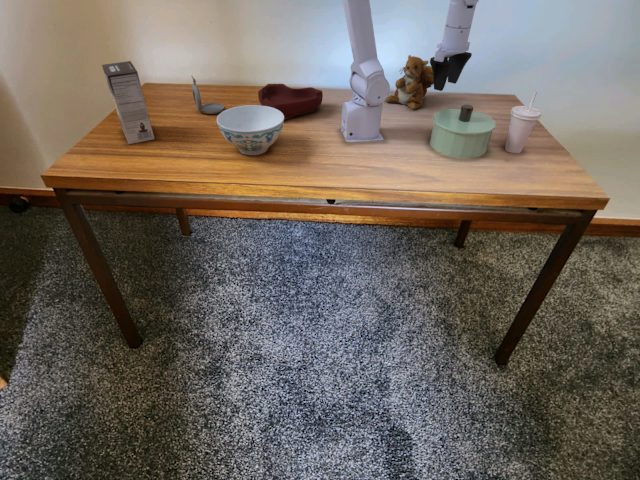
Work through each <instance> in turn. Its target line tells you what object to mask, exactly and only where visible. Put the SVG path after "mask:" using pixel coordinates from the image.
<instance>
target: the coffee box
mask: <svg viewBox="0 0 640 480" xmlns="http://www.w3.org/2000/svg"><path fill="white" fill-rule="evenodd" d="M101 67H102V70H103V74H104V77H105V79H106V83H107V87H108V90H109V93H110V96H111V100H112V102H113V106H114V108H115V111H116V115H117V118H118V120H119V124H120V127H121V129H122V132H123V134H124V137H125V139H126V142H127V144H128V145H134V144H138V143H144V142H147V141H152V140H155V139H156V138H155V134H154V131H153V126H152V123H151V119H150V116H149V112H148V108H147V104H146V99H145V96H144V92H143V88H142V83H141V81H140V80H141V79H140V76H139V72H138V70H137V69H136V67H135V66H134V64H133V63H132V61H131V60H128V61H122V62H121V61H120V62H113V63H106V64H101Z"/></svg>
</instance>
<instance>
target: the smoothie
mask: <svg viewBox="0 0 640 480" xmlns="http://www.w3.org/2000/svg"><path fill="white" fill-rule="evenodd" d="M537 93H538V92H537V91H534V92H533V94H532V97H531V100H530V103H529V105H516V106H513V107H512V108H511V110H510V120H509V124H508V131H507V136H506V139H505V140H506V141H505V145H504V150H505V152H508V153H511V154H520V153H521V152H522V151H523V148H524V147H525V145H526V143H527V141H528V139H529V137H530V135H531V133H532V132H533V130H534V128H535V126H536V124H537V122H538V120H540V119H541V116H542V111H541V110H540V109H538V108H535V107H533V106H534V105H533V104H534V102H535V100H536V96H537Z"/></svg>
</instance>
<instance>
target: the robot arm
mask: <svg viewBox="0 0 640 480" xmlns="http://www.w3.org/2000/svg"><path fill="white" fill-rule="evenodd" d="M479 1H480V0H449V4H448V9H447V15H446V20H445V25H444V30H443V35H442V41H441V42H440V43H437V44H436V48H437V49H438V50H436V51H435V53H434V56H433V57H430V59H429V64H430V66H431V67H432V71H433V80H434V84H433V90H435V91H439V92H443V90H444V88H445V86H446V83H450V84H457V82H458V80H459V78H460V76H461V74H462V73H463V70H464V68H465V66H466V65H467V63H468V61H469V60H470V59H471V58H472V56H473V53H472V52H470V51H469V49H470V45H471V42H470V41H469V37H470V34H471V33H470V32H471V29H472V28H471V27H472V24H473V20H474V16H475V10H476V7H477V4H478V3H479ZM342 4H343V5H342V6H343V10H344V17H345V21H346V27H347V31H348V37H349V43H350V49H351V55H352V60H353V61H352V63H351V64H350V77H349V87H350V89H351V90H352V91H353V93H352V94H353V95H352V99H350V100H347V101H343V103H342V107H341V123H340V125H341V126H340V131H341V133H342V135H343V137H344V139H345V141H346V142H348V143H349V142H350V143H351V142H353V143H354V142H369V141H370V142H371V141H384V140H385V138H384V137H383V135H382V134H381V132H380V129H381V120H382V112H383V106H384V102H385V101H386V99H387V97H388V96H390V91H391V85H390V83H389V80H388V79H387V78H386V75H385V71H384V68H383V65H382V64H381V62H380V61H379V58H378V53H377V44H376V37H375V31H374V24H373V15H372V8H371V2H370V0H342ZM468 51H469V52H468Z"/></svg>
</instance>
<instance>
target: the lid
mask: <svg viewBox="0 0 640 480" xmlns="http://www.w3.org/2000/svg"><path fill="white" fill-rule="evenodd" d="M432 120H433V123H434V122H435V123H436V124H437V125H438V126H439V127H441V128H443V129H446V130H448V131H452V132H455V133H460V134H469V135H478V134H485V133H489V132H491V131H492V132H493V131H494V130H495V129H496V127H497V123H496V121H495V120H494V119H493V118H492V117H491V116H489V115H487V114H484V113H482V112H479V111H476V110H474V106H473V105H472V104H462V105H461V107H460V108H447V109H446V108H445V109H442V110H439V111H437V112H435V113H434V114H433V118H432Z"/></svg>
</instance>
